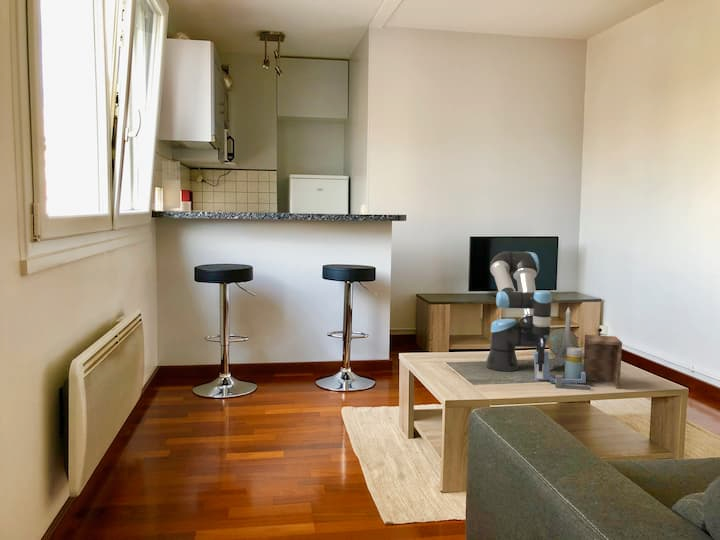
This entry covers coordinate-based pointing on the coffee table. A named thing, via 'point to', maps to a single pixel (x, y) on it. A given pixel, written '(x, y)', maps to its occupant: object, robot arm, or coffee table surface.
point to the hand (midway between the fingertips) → (539, 376)
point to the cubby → (602, 358)
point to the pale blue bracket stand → (549, 377)
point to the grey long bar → (569, 386)
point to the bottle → (573, 363)
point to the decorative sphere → (559, 340)
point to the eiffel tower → (563, 344)
